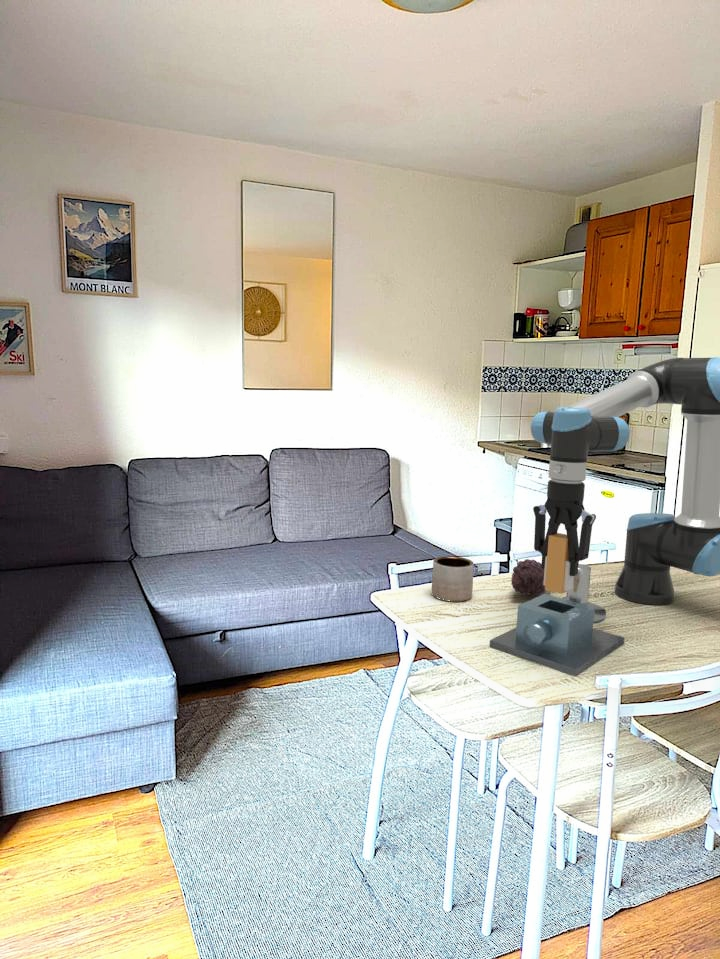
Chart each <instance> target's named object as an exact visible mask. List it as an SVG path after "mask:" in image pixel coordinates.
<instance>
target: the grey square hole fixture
mask: <svg viewBox="0 0 720 959" xmlns="http://www.w3.org/2000/svg"><path fill="white" fill-rule="evenodd" d="M591 570H592V567H591V566H588V565H586V564H582V563H579V564H578V573H577V575H576V576H574V577H573V588H572V589H571V590H569V591H567V592H566V596H565V597H566V598H562V597H558V596H554V595H551V594H547V593H544V594H540V595H538V596H537V597H534V598H532V599H530V600H528V601H526V602H523V603H521V604H519V605H517V617H516V627H514V628H512V629H510V630H508V631H506V632H504V633H502V634H500V635H498V636H495V637H493V638H492V639H490V640H489V647H490V648H492V649H495V650H499V651H501V652H504V653H507V654H510V655H512V656H516V657H519V658H520V659H521V658H522V659H525V660H527V661H530V662H533V663H535V662H536V663H537V665H538V664H539V665H542V666H545V667H548V668H551V669H552V670H556V671H559V672H562V673H565V674H567V675H570V676H573V677H577V676H578V675H579V674H581V673H583V671H585V670H587V669H588V668H590V667H591V666H593V665H594V664H596V663H597V662H600V660H602V659H604V658H605V657H606V656H608V655H610V654H611V653H612V652H613V651H615V650H617V649H619V648H620V647H622V646H623V645H624V644H625V637H624V636H621V635H616V634H614V633H610V632H608V631H603V630H600V629H596V628H594V624H600V623H602V622H604V621H605V620H606V619H607V611H606V609H605V608H604V607H603V606H600V605H598V604H596V603H593V602H589V595H590V583H591ZM536 663H535V664H536Z"/></svg>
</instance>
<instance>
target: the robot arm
mask: <svg viewBox="0 0 720 959" xmlns="http://www.w3.org/2000/svg"><path fill="white" fill-rule="evenodd" d="M659 404H667V405H668V404H669V405H670V404H671V405H681V409H680V414H681V415H682V416H683V418H685V419H686V434H685V451H684V466H683V481H682V496H681V510H680V511H681V512H680V514H679V515H674V514H671V513H661V512H656V513H655V512H651V513H650V512H646V513H644V512H643V513H635V514H633V515H631V516H630V517H629V518H628V523H627V527H626V538H625V539H626V540H625V550H624V551H625V552H624V560H623V563H624V564H623V567H622V570H621V572H620V573H619V576H618V578H617V580H616V582H615V585H614V593H615V595H617V597H619V598H621V599H624V600H627V601H630V602H634V603H637V604H644V605H653V606H654V605H655V606H662V605H670V604H671V603H674V601H675V594H676V593H675V588H674V584H673V581H672V576H671V567H672V568H675V569H679V570H682V571H684V572H685V571H686V572H689V573H691V574H695V575H697V576H698V575H700V576H706V577H715V576H718V575H719V574H720V357H719V356H715V357H673V358H668V359H665V360H661V361H658V362H655V363H652V364H650V365H647V366H645V367H643V368H641V369H638V370H635V371H633V372H632V373H631V374H629V376H628V377H627V378H626V380H623V381H621V382H619V383H617V384H615V385H613V386H610V387H608V388H606V389H604V390H601V391H599V392H596V393H595V394H593V395H591V396H589V397H586V398H584V399H582V400H579V401H577V402H575V403H573V404H571V405H569V406H559V407H557V408H555V409H554V411H541V412H539V413H537V414H535V415H534V417H533V418H532V420H531V423H530V432H531V436H532V438H533V439H534V440H535V441H536V442H538V443H540V444H541V443H542V444H545V445H547V446H550V456H549V466H548V478H549V480H548V481H547V490H546V496H547V497H546V498H547V499H546V500H545V503H544V504H539V505H535V506H533V507H532V508H533V509H532V511H533V514H534V517H535V518H534V519H535V520H534V544H533V549H534V550H535V551H536V552H538V553H540V554H541V562H540V563H541V567H542V569H545V570H544V583H543V585H544V586H545V578H546V565H547V553H548V540H549V535H554V534H557V533H558V530H559V527H560V526H561V525H564V530H565V531H566V535H567V538H568V550H569V559H568V560H567V561H566V566H565V578H564V591H568V590H571V589H572V588H573V577H574V576H576V575H577V573H578V564H580V562H581V561H584V560H587V559H588V558H589V556H590V554H589V553H590V547H591V546H590V545H591V539H592V538H591V536H592V529H593V525H594V523H595V521H596V519H597V515H596V514H595V513H592V514H591V513H589V512H588V511H586V509H585V506H584V498H585V488H586V487H585V486H586V484H585V482H584V481H586V475H587V462H588V454H589V453H591V452H592V453H593V452H608V453H610V452H613V451H619V450H621V449H623V448H624V447H625V446H626V445H627V444H628V442H629V440H630V427H629V425H628V423H627V421H626V420H624V419H623V418H621V416H623V415H626V414H628V413H630V412H633V411H634V410H636V409H638V408H649V407H652V406H654V405H659ZM547 513H548V515H549V516H548V517H549V519H548V526H547V531H546V523H547V522H546V521H547V520H546V515H547ZM580 518H581V522H582V523H581V529H580V537H579V536H578V534H579V533H578V525H579V524H578V520H579V519H580Z"/></svg>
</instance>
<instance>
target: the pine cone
mask: <svg viewBox="0 0 720 959" xmlns="http://www.w3.org/2000/svg"><path fill="white" fill-rule="evenodd" d="M541 563H542V562H540V561H537V560H535V559H529V558H527V559H524V560H523V561H522V560H520V561H518V562H517V565H516V566H514V567H513V568H512V572H513V573H512V574H511V586H512V588H513V590H514V591H515V592H517V593H521V594H528V593H529V594H528V595H530V596H532V597H533V596H537V597H539V596H541V595H543V594H545V591H546V590H545V586H544V585H543V583H544V570H545V569H542V567H541Z"/></svg>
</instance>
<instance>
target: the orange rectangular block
mask: <svg viewBox="0 0 720 959" xmlns="http://www.w3.org/2000/svg"><path fill="white" fill-rule="evenodd" d="M568 559H569V550H568V538H567V533H560V532H557V534H554V535H549V540H548V553H547V565H546V578H545V591H549V592H551V593H552V592H553V593H557V594H560V595H562V594H565V593H567V591H564V578H565V566H566V561H567V560H568ZM568 591H569V590H568Z"/></svg>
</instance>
